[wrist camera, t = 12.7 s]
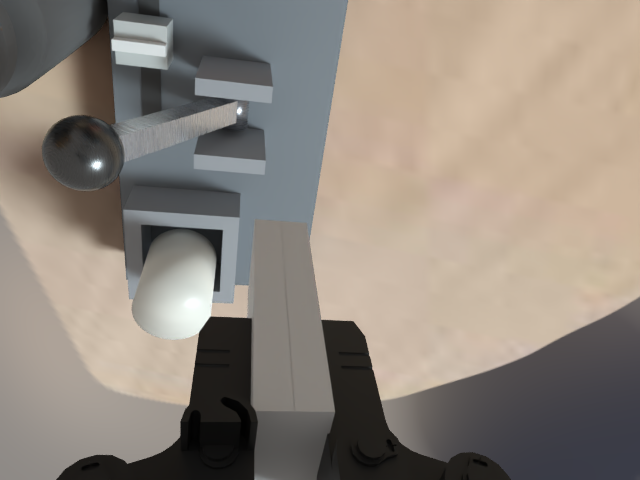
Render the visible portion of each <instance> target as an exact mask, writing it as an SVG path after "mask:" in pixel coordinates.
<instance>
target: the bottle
mask: <svg viewBox="0 0 640 480" xmlns="http://www.w3.org/2000/svg"><path fill="white" fill-rule="evenodd" d="M107 17H108V3H107V0H0V98H1V97H6V96H9V95H12V94H15V93H17V92H19V91H21V90H23V89H24V88H26V87H28V86H29V85H30V84H32V83H33V82H34V81H36V80H37V79H39V78H40V77H41V76H43V75H44V74H45V73H47V72H48V71H49V70H51V69H52V68H53V67H55V66H56V65H57V64H59V63H60V62H61V61H63V60H64V59H65V58H67V57H68V56H69V55H70V54H72V53H73V52H74V51H75V50H77V49H78V48H79V47H80V46H82V45H83V44H84V43H85V42H87V41H88V40H89V39H90V38H91V37H93V36H94V35H95V34H96V33H97V32H98V31H99V30H100V29H101V27H102V26H103V24H104V23H105V21H106V19H107Z"/></svg>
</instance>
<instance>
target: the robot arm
mask: <svg viewBox="0 0 640 480" xmlns="http://www.w3.org/2000/svg"><path fill="white" fill-rule="evenodd" d="M56 480H511V479H510V478H509V476H508V475H507V474H506V473H505V472H504V470H503V469H502V468H501V467H500V466H499V465H498V464H497V463H495V462H493V461H492V460H490V459H489V458H487V457H486V456H483V455H480V454H476V453H473V452H472V453H471V452H470V453H460V454H458V455H456V456H454V457H452V458H451V459H450V461H449V462H448V463H446V462H443V461H439V460H436V459H433V458H430V457H427V456H424V455H421V454H418V453H416V452H413V451H411V450H410V449H408V448H407V447H405V446H404V445H402V444H401V443H400V442H399V440H398V438H397V437H396V436H394V434H393V433H392V432H391V431H390V430H389V428H388V426H387V423H386V420H385V416H384V412H383V408H382V404H381V400H380V396H379V392H378V388H377V384H376V380H375V376H374V371H373V370H372V363H371V359H370V356H369V351H368V347H367V343H366V339H365V336H364V334H363V333H362V332H361V331H360V329H359V328H358V327H357V325H356V324H355V323H354V322H353V321H335V320H321V315H320V308H319V301H318V295H317V288H316V282H315V275H314V268H313V262H312V255H311V248H310V242H309V235H308V229H307V223H300V222H286V221H273V220H259V219H255V223H254V234H253V245H252V256H251V267H250V277H249V288H248V315H247V318H232V317H210V318H209V319H208V320H207V322H206V323H205V324H204V326H203V327H202V329H201V330H200V331H199V338H198V345H197V353H196V360H195V367H194V375H193V382H192V389H191V397H190V404H189V406H188V407H187V408H186V409H185V412H184V414H183V417H182V419H181V436H180V438H179V439H178V440H177V441H176V442H175V443H174V444H173V445H172V446H171V447H169V448H168V449H166V450H165V451H163V452H161V453H159V454H157V455H154V456H152V457H149V458H146V459H142V460H139V461H136V462H132V463H129V464H127V463H126V462H125V461H124V460H122V459H119V458H117V457H115V456H113V455H94V456H91V457H87V458H84V459H81V460H79V461H77V462H76V463H74V464H73V465H71V466H69V467H68V468H66V469H65V470H64V471H63V473H62V474H61V475H60V476H59V477H58V478H57V479H56Z"/></svg>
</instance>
